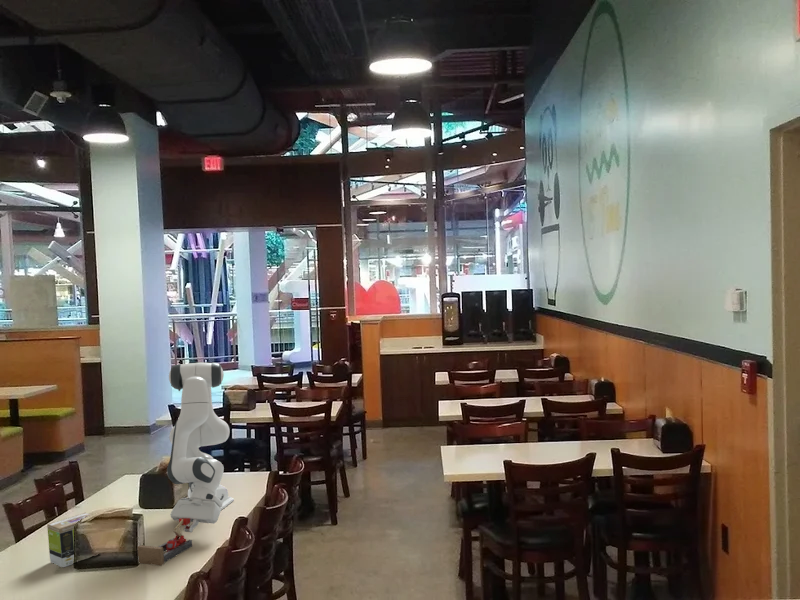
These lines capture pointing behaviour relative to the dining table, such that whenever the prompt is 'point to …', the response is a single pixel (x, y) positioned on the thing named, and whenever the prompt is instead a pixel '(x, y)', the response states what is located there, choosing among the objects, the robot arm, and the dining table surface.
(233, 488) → the dining table surface
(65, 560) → the tea box
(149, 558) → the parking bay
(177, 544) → the red beige jointed figure
